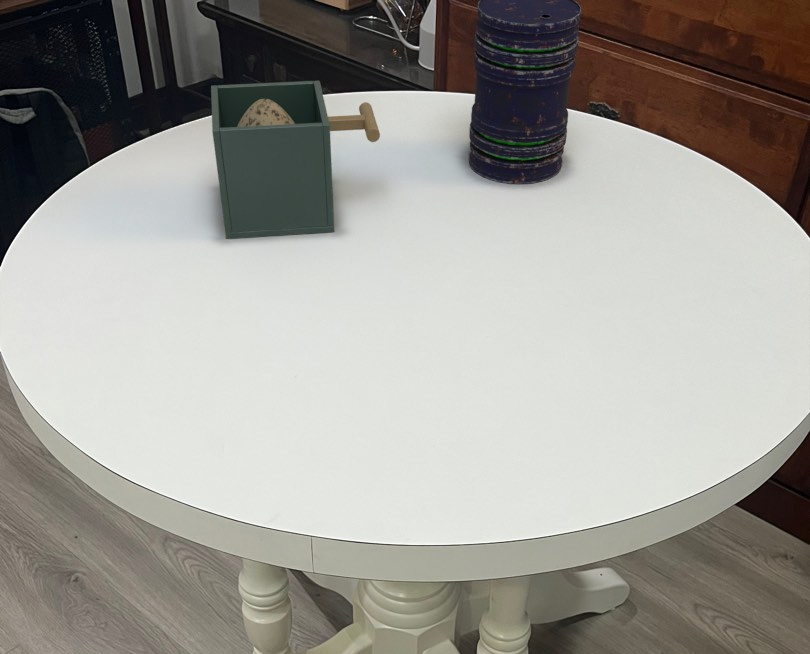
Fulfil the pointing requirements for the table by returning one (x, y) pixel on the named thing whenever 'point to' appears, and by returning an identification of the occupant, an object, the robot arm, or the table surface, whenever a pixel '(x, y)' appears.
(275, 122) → the decorative egg
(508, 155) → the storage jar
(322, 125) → the green box with handle
